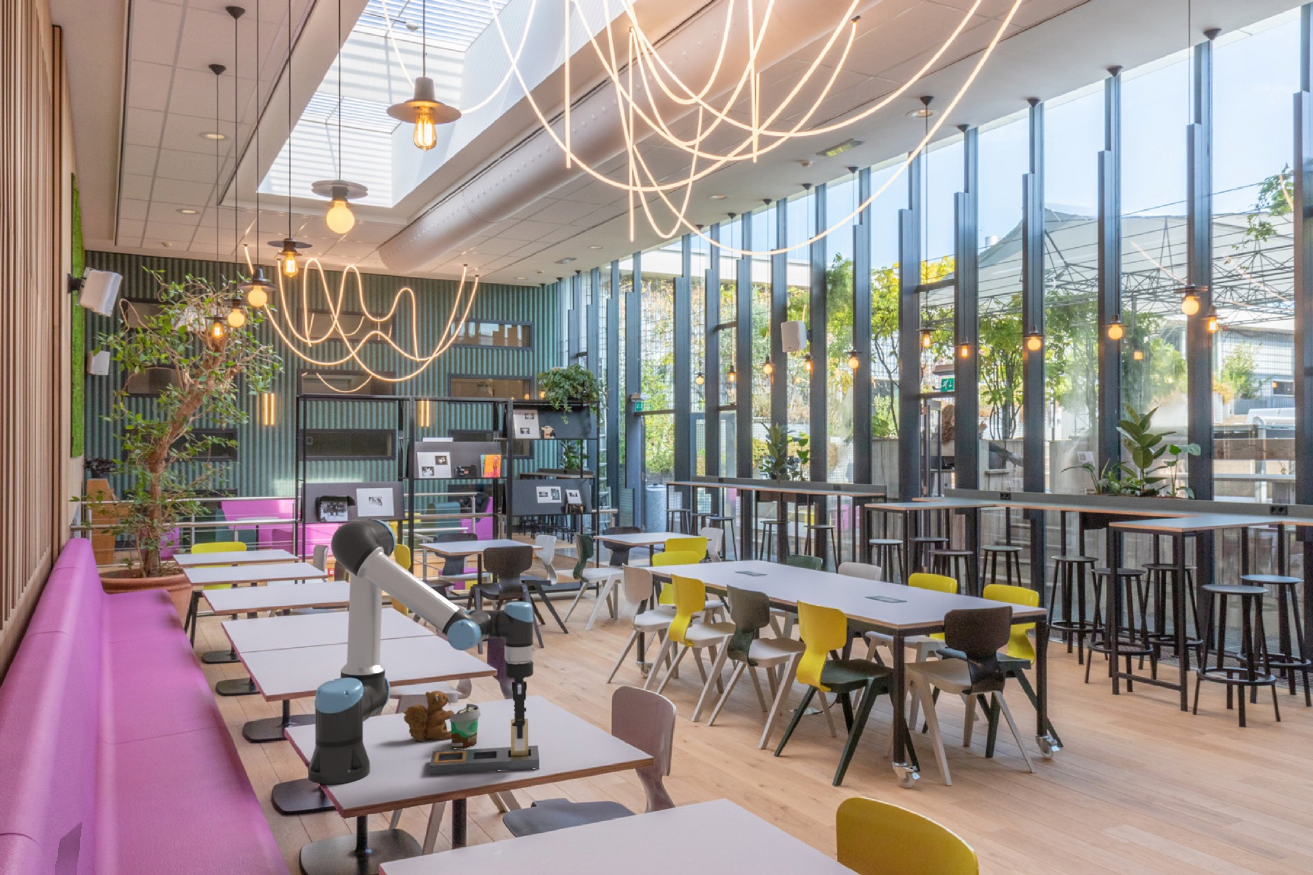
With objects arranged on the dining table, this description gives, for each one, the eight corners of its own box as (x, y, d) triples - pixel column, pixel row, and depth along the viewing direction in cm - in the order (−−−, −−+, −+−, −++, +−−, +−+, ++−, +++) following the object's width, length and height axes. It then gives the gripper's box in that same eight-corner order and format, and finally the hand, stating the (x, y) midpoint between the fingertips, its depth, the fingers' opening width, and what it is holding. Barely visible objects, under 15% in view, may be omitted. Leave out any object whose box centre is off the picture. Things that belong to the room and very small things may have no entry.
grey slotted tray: (429, 775, 239) (429, 764, 240) (432, 760, 251) (432, 750, 251) (539, 768, 244) (539, 758, 244) (537, 754, 256) (537, 744, 256)
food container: (470, 751, 259) (470, 715, 259) (449, 750, 260) (449, 714, 260) (487, 738, 271) (487, 703, 271) (467, 737, 272) (467, 703, 272)
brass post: (511, 765, 246) (510, 724, 247) (511, 760, 251) (510, 719, 251) (528, 764, 247) (528, 723, 247) (527, 759, 252) (527, 718, 252)
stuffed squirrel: (459, 737, 272) (459, 692, 273) (412, 746, 264) (412, 699, 265) (446, 729, 281) (446, 685, 281) (400, 737, 273) (400, 692, 273)
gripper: (534, 669, 239) (534, 756, 238) (532, 651, 262) (532, 730, 261) (504, 671, 237) (505, 758, 237) (504, 652, 261) (505, 731, 260)
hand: (519, 743), depth 249 cm, fingers open, 11 cm apart
